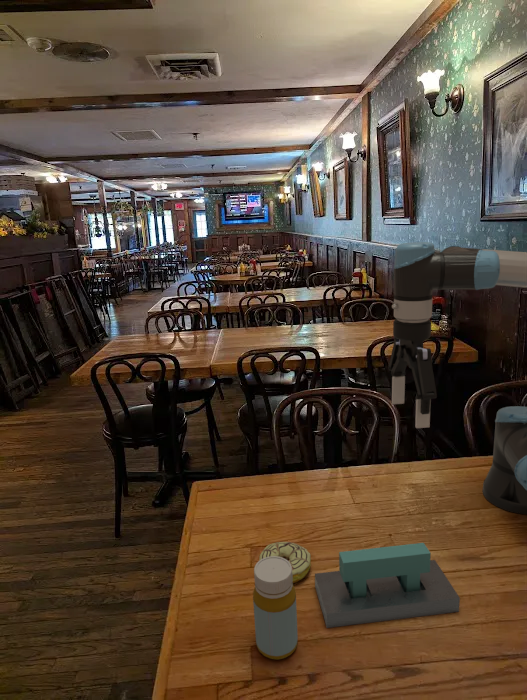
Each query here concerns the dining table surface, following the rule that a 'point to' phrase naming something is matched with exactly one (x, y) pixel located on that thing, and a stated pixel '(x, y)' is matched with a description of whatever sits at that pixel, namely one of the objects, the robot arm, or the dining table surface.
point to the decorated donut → (290, 557)
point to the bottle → (275, 608)
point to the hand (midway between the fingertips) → (409, 414)
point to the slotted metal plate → (384, 598)
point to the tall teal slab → (384, 566)
